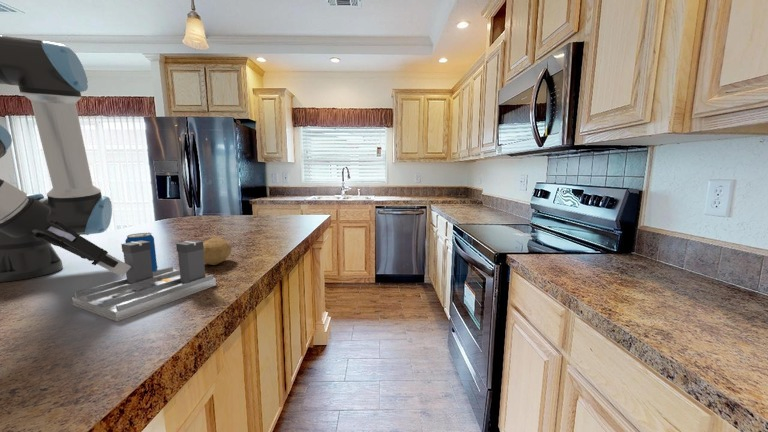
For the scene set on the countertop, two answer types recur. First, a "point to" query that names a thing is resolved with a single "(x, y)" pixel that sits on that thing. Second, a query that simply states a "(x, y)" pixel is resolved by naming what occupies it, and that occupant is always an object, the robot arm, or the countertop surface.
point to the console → (138, 294)
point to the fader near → (137, 260)
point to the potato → (215, 250)
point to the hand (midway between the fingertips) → (125, 271)
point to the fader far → (191, 260)
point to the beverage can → (145, 237)
